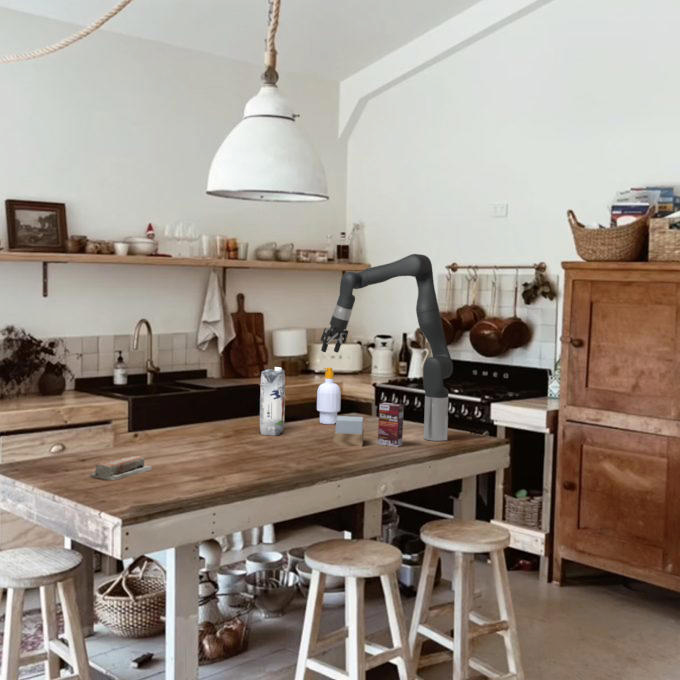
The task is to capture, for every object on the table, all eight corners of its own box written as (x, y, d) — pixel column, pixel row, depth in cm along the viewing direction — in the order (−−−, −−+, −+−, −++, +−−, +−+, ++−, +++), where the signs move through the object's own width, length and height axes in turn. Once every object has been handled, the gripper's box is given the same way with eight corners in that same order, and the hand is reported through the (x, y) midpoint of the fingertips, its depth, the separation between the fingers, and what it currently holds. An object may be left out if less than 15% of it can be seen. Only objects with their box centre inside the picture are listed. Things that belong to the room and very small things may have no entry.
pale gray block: (362, 429, 342) (363, 416, 342) (361, 434, 332) (362, 421, 332) (337, 428, 343) (337, 416, 342) (335, 433, 333) (335, 420, 332)
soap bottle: (311, 422, 383) (313, 367, 381) (330, 420, 389) (331, 366, 388) (326, 426, 375) (327, 369, 373) (344, 424, 381) (346, 368, 380)
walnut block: (363, 442, 343) (363, 429, 343) (362, 447, 332) (362, 434, 332) (335, 441, 344) (335, 428, 343) (333, 446, 333) (333, 433, 332)
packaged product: (114, 466, 268) (89, 462, 273) (114, 482, 269) (89, 478, 273) (152, 456, 284) (128, 452, 289) (152, 471, 285) (128, 467, 289)
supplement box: (377, 444, 337) (378, 403, 335) (382, 442, 341) (383, 402, 340) (397, 447, 333) (399, 405, 331) (402, 445, 337) (404, 404, 336)
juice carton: (258, 435, 349) (259, 367, 347) (263, 430, 360) (265, 365, 358) (280, 436, 348) (281, 368, 346) (285, 431, 359) (286, 366, 357)
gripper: (337, 319, 368) (325, 354, 371) (357, 320, 379) (346, 355, 382) (324, 312, 372) (312, 348, 375) (345, 314, 383) (333, 348, 387)
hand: (329, 351), depth 379 cm, fingers open, 8 cm apart
